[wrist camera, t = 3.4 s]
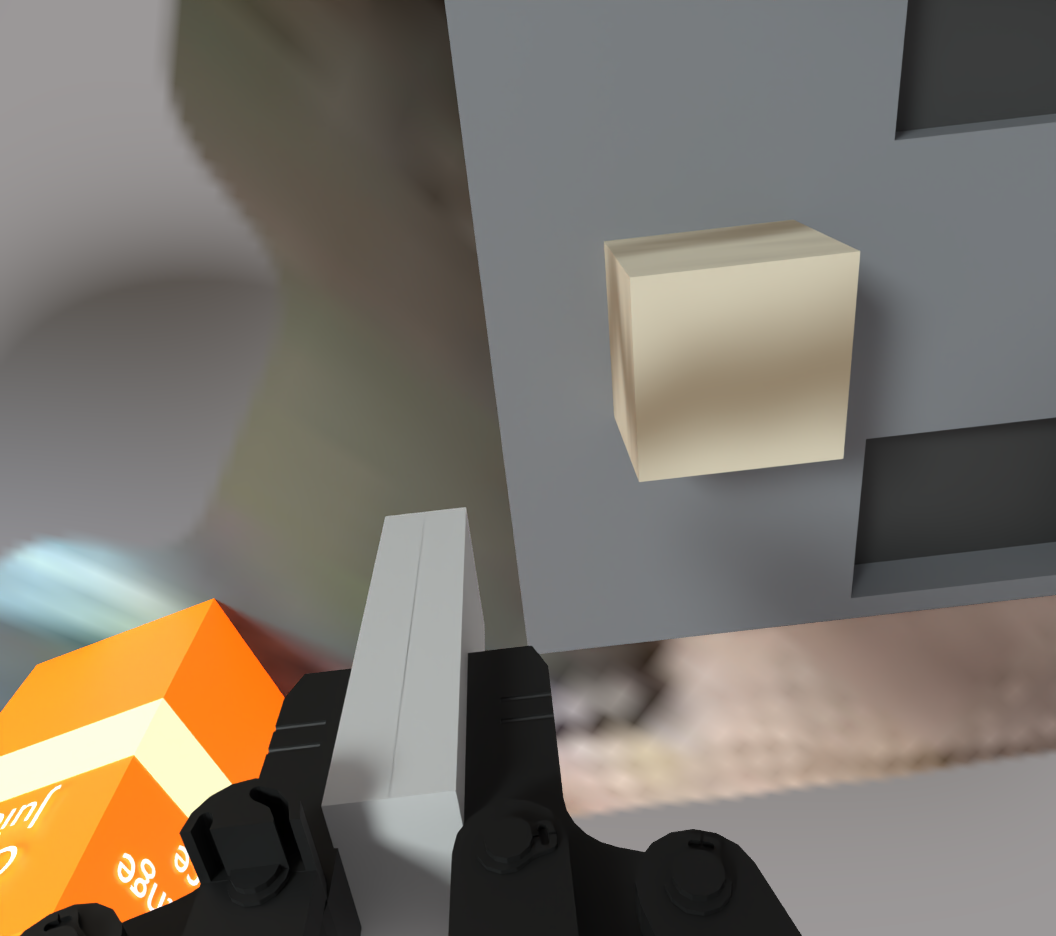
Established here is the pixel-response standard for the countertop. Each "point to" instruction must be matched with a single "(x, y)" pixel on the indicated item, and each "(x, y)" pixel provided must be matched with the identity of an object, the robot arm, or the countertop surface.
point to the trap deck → (760, 197)
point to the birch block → (731, 347)
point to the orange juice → (124, 763)
